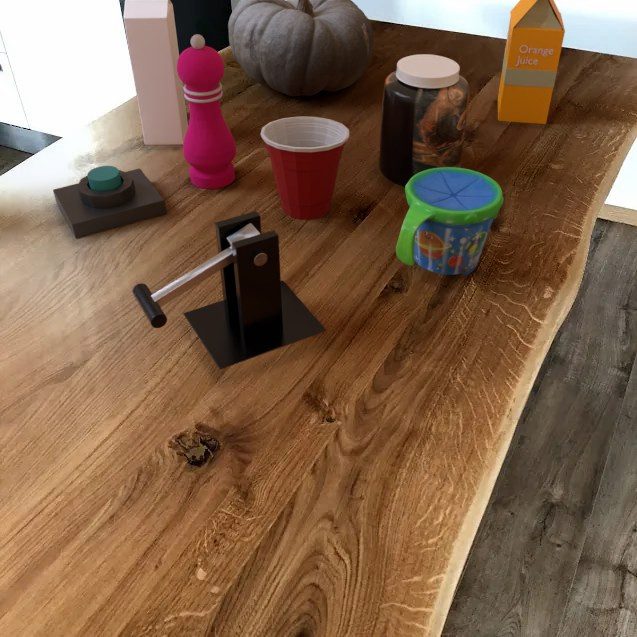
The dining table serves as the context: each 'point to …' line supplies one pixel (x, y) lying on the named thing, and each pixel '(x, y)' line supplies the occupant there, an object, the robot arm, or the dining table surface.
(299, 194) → the plastic cup
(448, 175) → the snack cup
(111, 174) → the button
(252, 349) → the bracket
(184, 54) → the pepper mill
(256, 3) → the gourd
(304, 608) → the dining table surface
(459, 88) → the jar
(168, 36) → the milk
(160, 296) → the lever
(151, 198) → the control block
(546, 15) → the orange juice
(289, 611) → the dining table surface
